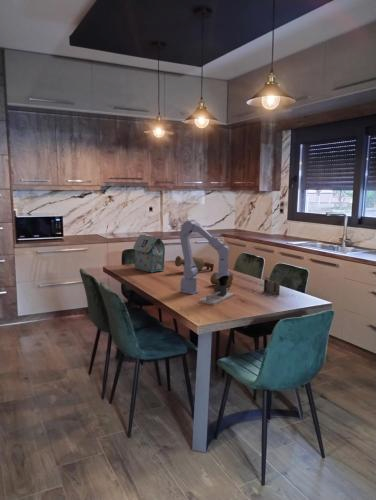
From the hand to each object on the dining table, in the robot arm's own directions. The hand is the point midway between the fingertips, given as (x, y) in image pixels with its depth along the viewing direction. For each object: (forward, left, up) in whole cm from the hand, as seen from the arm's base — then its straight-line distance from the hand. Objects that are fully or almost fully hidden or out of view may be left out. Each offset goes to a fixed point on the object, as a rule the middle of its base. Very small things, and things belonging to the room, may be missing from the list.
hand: (222, 288), depth 235 cm
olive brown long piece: (-50, +47, -5) cm, 68 cm away
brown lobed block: (-10, +19, -5) cm, 22 cm away
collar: (0, -3, -3) cm, 4 cm away
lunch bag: (-81, +31, -5) cm, 87 cm away
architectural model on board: (+20, +26, -6) cm, 33 cm away
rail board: (0, -6, -5) cm, 8 cm away
